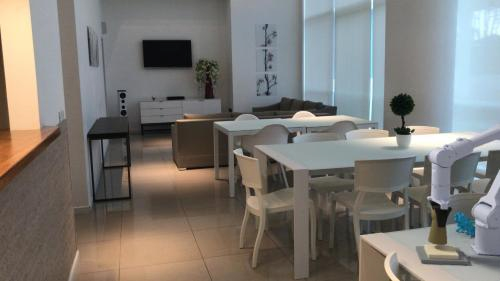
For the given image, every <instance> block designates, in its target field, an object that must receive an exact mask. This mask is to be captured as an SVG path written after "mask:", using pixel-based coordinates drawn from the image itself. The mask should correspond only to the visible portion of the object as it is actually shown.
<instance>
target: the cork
mask: <svg viewBox="0 0 500 281" xmlns="http://www.w3.org/2000/svg"><path fill="white" fill-rule="evenodd" d="M430 215H431V218H432V220H431V224H430V225H431V226H430V231H429V235H428V238H427V241H428V243H430V244H431V245H448V235H447V234H448V232H447V225H446V226H445V228H443V227H438V225H437V218H436V213H435V210H432V211H431V214H430Z"/></svg>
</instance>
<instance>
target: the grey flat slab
mask: <svg viewBox="0 0 500 281" xmlns="http://www.w3.org/2000/svg"><path fill="white" fill-rule="evenodd" d="M415 251H416V253H417V256H418V258H419V260H420V263H421V264H429V265H430V264H431V265H454V266H457V265H458V266H469V260H468V259H467V257H466V256H465V254H464V253H463V252H462V250H461V248H460V247H454V246H453V244H445V245H437V244H424V245H423V246H421V245H420V246H419V245H416V246H415Z"/></svg>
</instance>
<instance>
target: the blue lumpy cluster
mask: <svg viewBox="0 0 500 281" xmlns="http://www.w3.org/2000/svg"><path fill="white" fill-rule="evenodd" d="M453 216H454V218H453V221H454V222H456V224H455V225H456V227H457V228H455V232H456V233H458V232H459V231H460V232H462V233H464V232H465V231H466V232H465V235H466V236H468V237H469V236H470V237H475V228H476V222H475V219H474V220H472V221H471V219H472V218H471V216H467V215H466V213H464V212H462V213H461V211H458V212H456V213H455V214H454V215H453ZM466 216H467V217H466Z"/></svg>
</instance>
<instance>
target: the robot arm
mask: <svg viewBox="0 0 500 281" xmlns="http://www.w3.org/2000/svg"><path fill="white" fill-rule="evenodd" d="M495 141H500V123H497V124H494V125H493V126H492V127H490V128H488V129H486V130H484V131H482V132H480V133H478V134H476V135H474V136H472V137H470V138H466V137H457V138H456V139H455V141H453V142H451V143H448V144H447V143H445V144H443V146H442V147H440V146H437V147H435V148H432V150H431V151H430V153H429V155H428V156H427V158H428V160H429V162H430V163H431V183H430V184H431V187H430V188H431V190H430V191H431V192H430V194H431V195H430V196H427V197H426V199H427V200H428V202H429V204H430V206H431V209H432V211H433V210H435V213H436V218H437V225H438V227H443V228H445V226H446V227H447V220H448V218H449V216H450V214H451V212H452V210H453V207H452V206H449V203H450V202H451V170H452V169H451V166H453V164H454V163H455V162H456V161H457V160H460V159H462V158H465V157H467V156H469V155H471V154H472V153H473V152H474V150H475V149H476V148H478V147H481V146H483V145H486V144H489V143H492V142H495ZM494 178H495V179H494V180H493V182H492V184H491V186H490V189H489V190H488V192H487V194H486V195H484V196H482V197H480V199H479V200H478V202H477V203H475V204H474V205H473V207H472V209H471V216H472V218H473V219H474V220H475V222H476V223H475V227H476V228H475V236H474V244H471V245H470V247H471V249H473V250H474V252H475V253H476V255H490V256H491V255H492V256H500V169H498V172H497V174H496V176H495V177H494Z"/></svg>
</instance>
